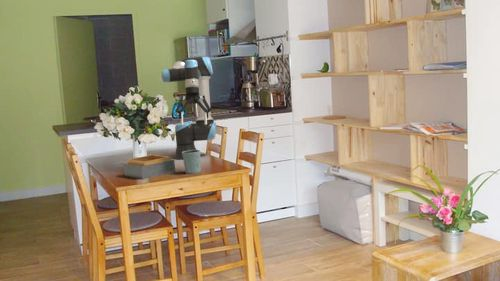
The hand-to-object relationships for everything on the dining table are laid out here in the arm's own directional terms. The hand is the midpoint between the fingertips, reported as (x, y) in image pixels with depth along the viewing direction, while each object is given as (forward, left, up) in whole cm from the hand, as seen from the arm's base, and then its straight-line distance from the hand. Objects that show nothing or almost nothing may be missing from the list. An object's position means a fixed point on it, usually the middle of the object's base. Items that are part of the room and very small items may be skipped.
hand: (194, 124), depth 320 cm
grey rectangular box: (+18, -19, -26) cm, 37 cm away
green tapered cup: (+5, +1, -26) cm, 27 cm away
